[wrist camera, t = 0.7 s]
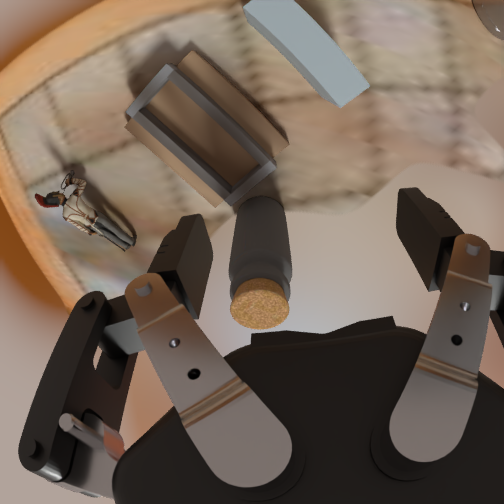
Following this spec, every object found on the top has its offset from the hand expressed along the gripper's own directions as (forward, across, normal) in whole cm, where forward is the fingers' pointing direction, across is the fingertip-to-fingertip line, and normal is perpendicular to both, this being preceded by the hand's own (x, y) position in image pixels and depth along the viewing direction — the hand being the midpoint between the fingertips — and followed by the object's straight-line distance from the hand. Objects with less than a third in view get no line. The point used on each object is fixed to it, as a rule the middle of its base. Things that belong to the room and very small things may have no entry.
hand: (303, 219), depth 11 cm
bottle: (+21, +4, +11) cm, 24 cm away
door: (+21, -3, -7) cm, 23 cm away
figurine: (+21, +25, +6) cm, 33 cm away
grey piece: (+21, +8, 0) cm, 22 cm away
